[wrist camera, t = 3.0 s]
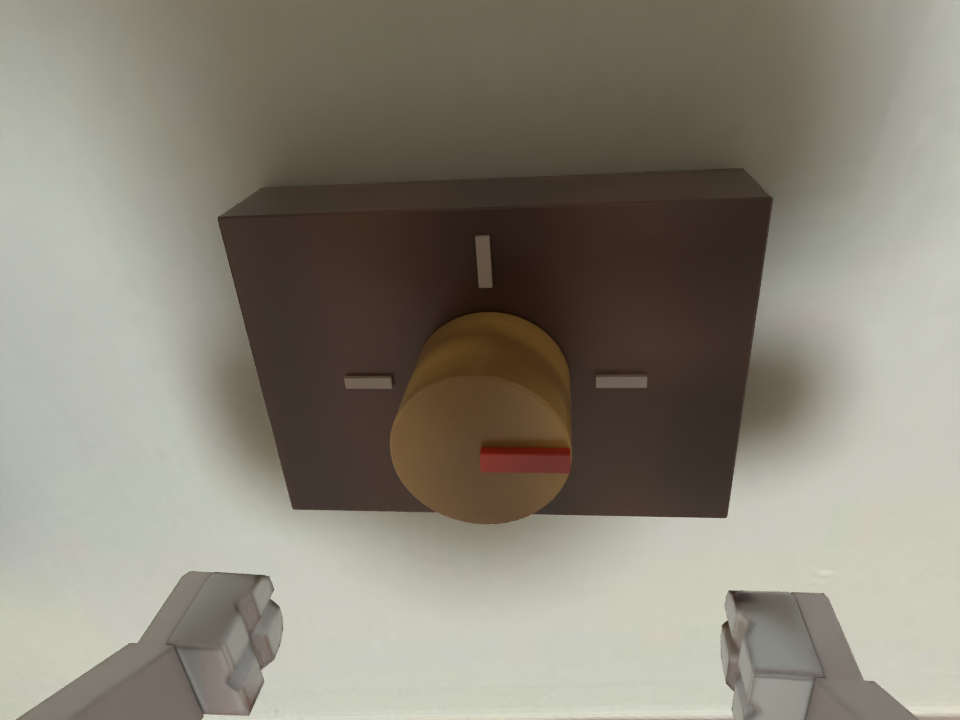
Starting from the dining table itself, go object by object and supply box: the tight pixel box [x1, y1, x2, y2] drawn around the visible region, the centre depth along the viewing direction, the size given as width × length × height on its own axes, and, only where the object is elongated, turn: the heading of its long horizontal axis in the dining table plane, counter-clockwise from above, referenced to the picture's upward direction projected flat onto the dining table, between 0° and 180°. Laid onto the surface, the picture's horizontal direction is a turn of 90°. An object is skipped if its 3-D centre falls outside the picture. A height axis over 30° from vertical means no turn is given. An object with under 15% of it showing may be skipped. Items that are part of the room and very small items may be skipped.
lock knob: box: [390, 312, 572, 524], centre depth 17 cm, size 4×4×4 cm
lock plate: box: [218, 168, 773, 518], centre depth 20 cm, size 14×10×3 cm
